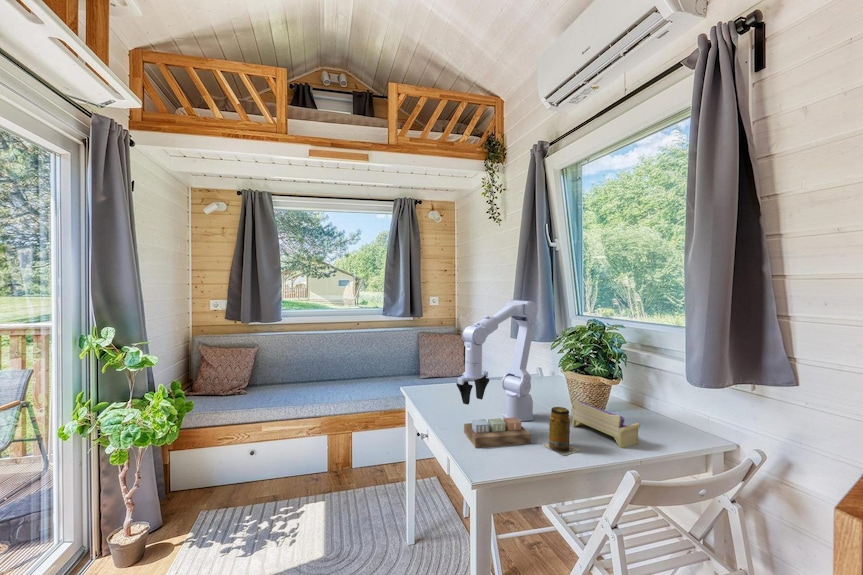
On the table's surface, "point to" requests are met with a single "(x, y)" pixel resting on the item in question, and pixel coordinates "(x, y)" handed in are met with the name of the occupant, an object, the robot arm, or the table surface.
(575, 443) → the table surface
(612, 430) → the toy sofa
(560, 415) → the condiment
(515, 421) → the terracotta key
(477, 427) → the slate key
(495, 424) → the sage key
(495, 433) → the brown wooden tray
